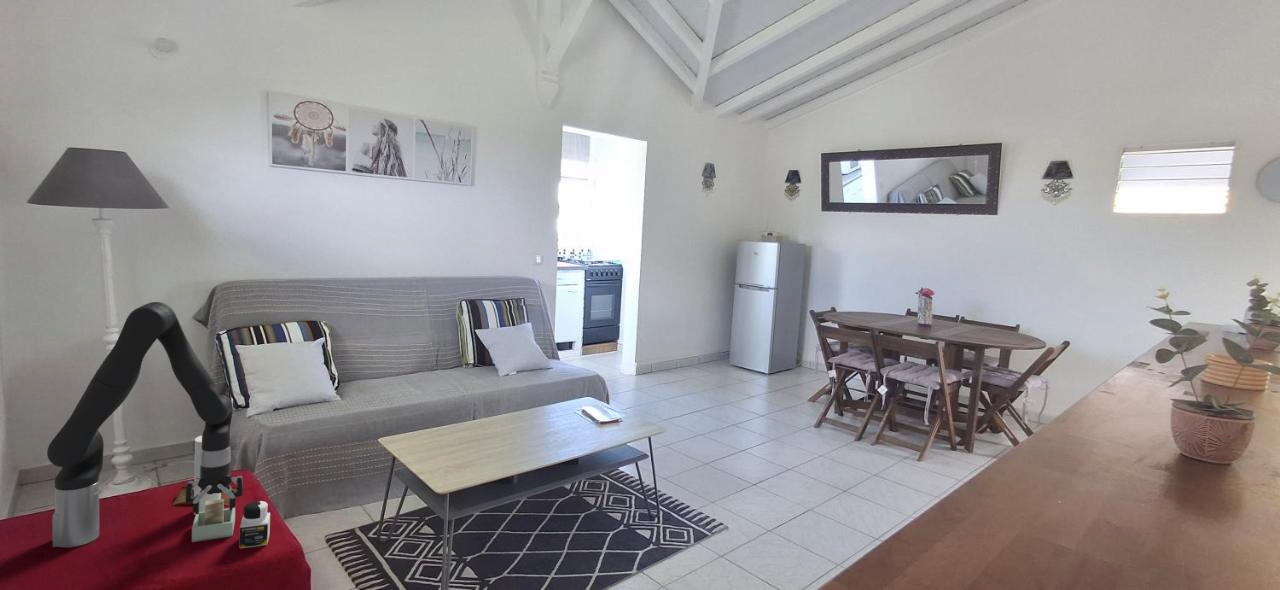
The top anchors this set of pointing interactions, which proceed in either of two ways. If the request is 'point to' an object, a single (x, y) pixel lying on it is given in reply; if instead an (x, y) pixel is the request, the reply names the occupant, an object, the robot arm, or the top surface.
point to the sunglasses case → (182, 495)
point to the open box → (213, 527)
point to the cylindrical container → (197, 477)
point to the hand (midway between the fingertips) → (214, 511)
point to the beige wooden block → (214, 511)
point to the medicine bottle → (255, 525)
